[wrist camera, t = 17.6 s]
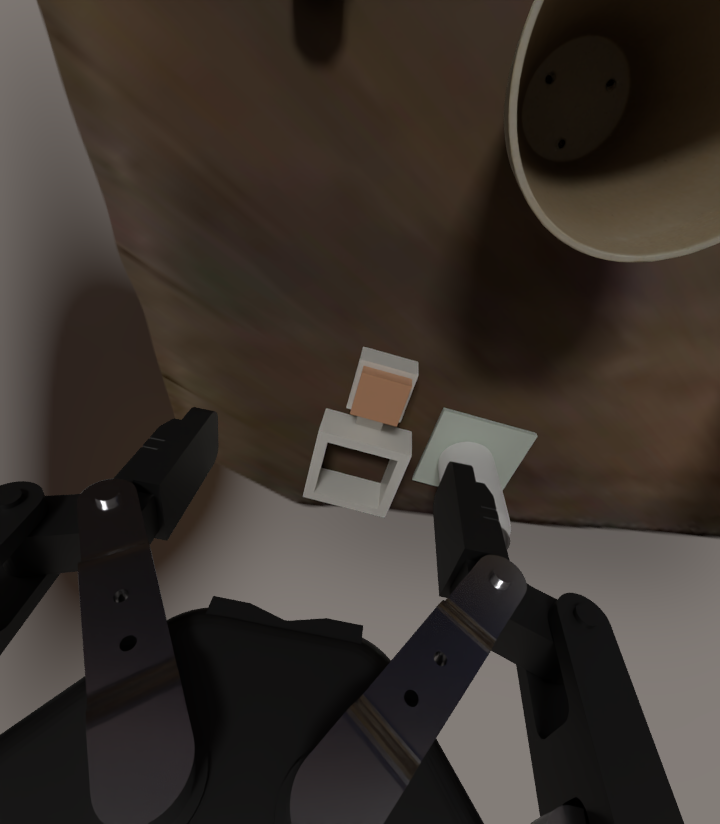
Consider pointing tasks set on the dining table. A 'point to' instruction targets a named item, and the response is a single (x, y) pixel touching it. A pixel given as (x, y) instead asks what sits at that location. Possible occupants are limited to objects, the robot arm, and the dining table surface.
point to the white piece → (363, 446)
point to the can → (479, 475)
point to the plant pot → (619, 125)
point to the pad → (463, 427)
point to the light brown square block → (381, 396)
